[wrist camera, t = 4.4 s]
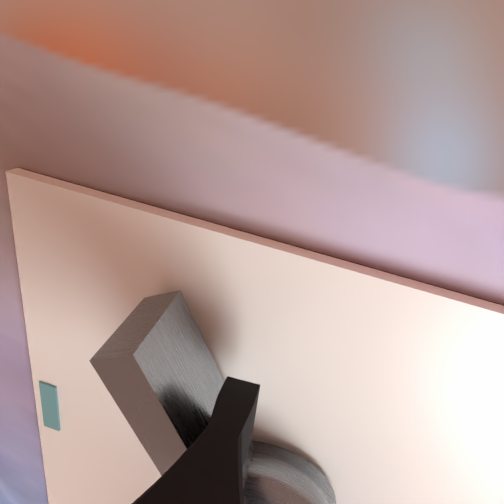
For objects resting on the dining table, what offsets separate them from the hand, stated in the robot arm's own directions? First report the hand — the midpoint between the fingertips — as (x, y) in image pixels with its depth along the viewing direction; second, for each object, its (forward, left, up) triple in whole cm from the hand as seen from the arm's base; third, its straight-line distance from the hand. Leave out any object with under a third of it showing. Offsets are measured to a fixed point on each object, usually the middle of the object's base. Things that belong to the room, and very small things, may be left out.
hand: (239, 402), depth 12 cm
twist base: (-6, -2, -2) cm, 7 cm away
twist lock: (-3, 0, -1) cm, 4 cm away
